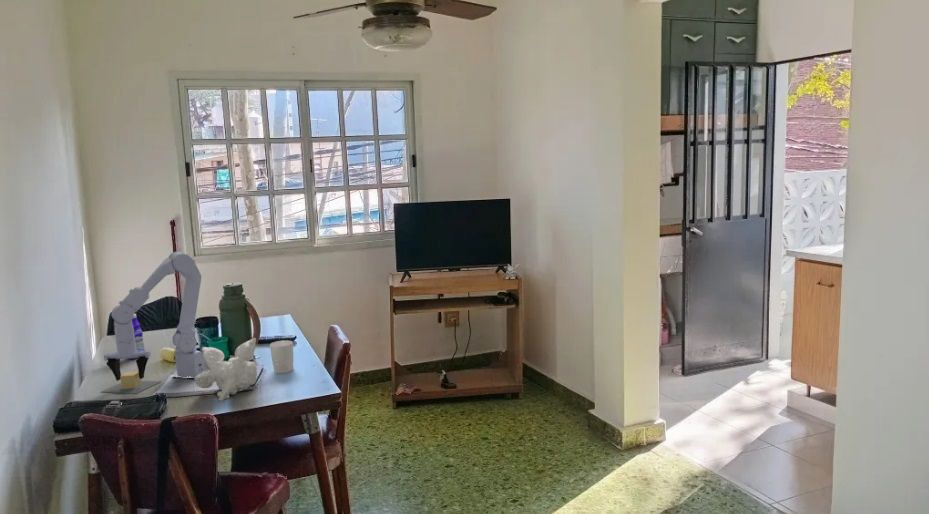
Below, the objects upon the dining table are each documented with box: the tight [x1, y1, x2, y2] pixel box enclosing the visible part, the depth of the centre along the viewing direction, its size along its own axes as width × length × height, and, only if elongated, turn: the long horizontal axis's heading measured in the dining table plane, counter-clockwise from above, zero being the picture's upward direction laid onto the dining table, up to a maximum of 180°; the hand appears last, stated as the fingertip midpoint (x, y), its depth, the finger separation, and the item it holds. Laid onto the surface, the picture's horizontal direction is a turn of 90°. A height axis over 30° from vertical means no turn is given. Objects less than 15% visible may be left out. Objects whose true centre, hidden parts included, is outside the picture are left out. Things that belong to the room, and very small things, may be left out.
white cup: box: [269, 339, 294, 374], centre depth 235 cm, size 8×8×10 cm
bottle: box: [127, 313, 146, 360], centre depth 261 cm, size 7×6×17 cm
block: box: [120, 370, 142, 389], centre depth 225 cm, size 4×4×4 cm
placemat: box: [100, 380, 162, 395], centre depth 225 cm, size 14×12×1 cm
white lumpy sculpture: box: [194, 337, 258, 402], centre depth 216 cm, size 19×20×20 cm
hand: (130, 378), depth 224 cm, fingers open, 7 cm apart
